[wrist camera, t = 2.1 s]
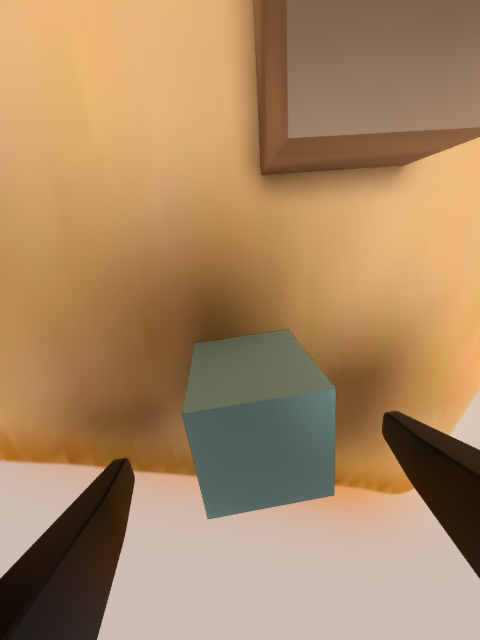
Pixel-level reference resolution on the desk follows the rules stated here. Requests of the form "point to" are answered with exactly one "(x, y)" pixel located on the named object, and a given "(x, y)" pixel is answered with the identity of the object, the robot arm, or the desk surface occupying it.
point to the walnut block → (364, 81)
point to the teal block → (259, 423)
